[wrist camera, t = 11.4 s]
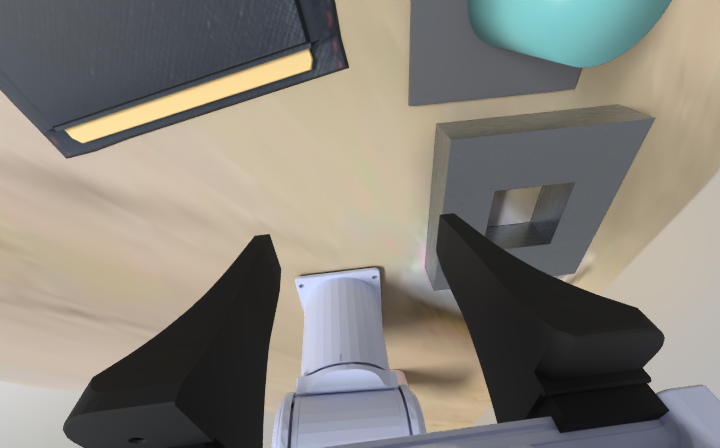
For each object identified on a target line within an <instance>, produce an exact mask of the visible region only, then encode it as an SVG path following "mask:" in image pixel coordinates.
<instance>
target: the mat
mask: <svg viewBox="0 0 720 448" xmlns="http://www.w3.org/2000/svg"><path fill="white" fill-rule="evenodd" d="M580 70H581V68H580V67H573V66H569V65H565V64H561V63H557V62H554V61H550V60H546V59H542V58H538V57H534V56H530V55H526V54H522V53H518V52H514V51H510V50H506V49H502V48H498V47H494V46H491V45H488V44H486V43H484V42H483V41H482V40H480V39H479V38H478V37H477V35H476V34H475V32H474V31H473V29H472V26H471V24H470V20H469V15H468V0H411V18H410V61H409V103H408V104H409V106H416V105H425V104H435V103H445V102H454V101H464V100H474V99H483V98H493V97H503V96H512V95H522V94H532V93H541V92H551V91H561V90H570V89H574V88H575V85H576V82H577V79H578V76H579V73H580Z"/></svg>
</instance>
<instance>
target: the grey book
mask: <svg viewBox="0 0 720 448" xmlns="http://www.w3.org/2000/svg"><path fill="white" fill-rule="evenodd" d="M346 68H349V67H348V63H347V59H346V56H345V52H344V48H343V44H342V40H341V36H340V30H339V25H338V19H337V13H336V8H335V2H334V0H0V90H1V91H2V92H3V93H4V94H5V95H6V96H7V97H8V98H9V100H10V101H11V102H12V103H13V104H14V105H15V106H16V107H17V108H18V109H19V110H20V111H21V112H22V113H23V114H24V115H25V116H26V117H27V118H28V119H29V120H30V121H31V122H32V123H33V124H34V125H35V126H36V127H37V128H38V129H39V130H40V131H41V133H42V134H43V135H44V136H45V137H46V138H47V139H48V140H49V141H50V142H51V143H52V144H53V145H54V146H55V147H56V148H57V149H58V150H59V151H60V152H61V153H62V154H63V155H64V157H65V158H66V159H67V158H70V157H74V156H78V155H82V154H86V153H90V152H94V151H97V150H99V149H102V148H105V147H107V146H110V145H113V144H115V143H118V142H121V141H123V140H126V139H129V138H132V137H135V136H138V135H141V134H144V133H147V132H151V131H154V130H157V129H160V128H163V127H166V126H169V125H172V124H175V123H178V122H182V121H185V120H188V119H191V118H194V117H197V116H200V115H203V114H206V113H209V112H213V111H216V110H219V109H222V108H225V107H228V106H231V105H234V104H237V103H240V102H244V101H247V100H250V99H253V98H256V97H259V96H262V95H265V94H268V93H271V92H275V91H278V90H281V89H284V88H287V87H290V86H293V85H296V84H299V83H303V82H306V81H309V80H312V79H315V78H318V77H321V76H324V75H327V74H331V73H334V72H337V71H340V70H343V69H346Z"/></svg>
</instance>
